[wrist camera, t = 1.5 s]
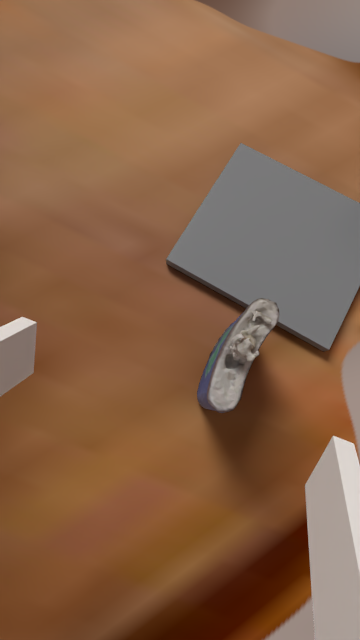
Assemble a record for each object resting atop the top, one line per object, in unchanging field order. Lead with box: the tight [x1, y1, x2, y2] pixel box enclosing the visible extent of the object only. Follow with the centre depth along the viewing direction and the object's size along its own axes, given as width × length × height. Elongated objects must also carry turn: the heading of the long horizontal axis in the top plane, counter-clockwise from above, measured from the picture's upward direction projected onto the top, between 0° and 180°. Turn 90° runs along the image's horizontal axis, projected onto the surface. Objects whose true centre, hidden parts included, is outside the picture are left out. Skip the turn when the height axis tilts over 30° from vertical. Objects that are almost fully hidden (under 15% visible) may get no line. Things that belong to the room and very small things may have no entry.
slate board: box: [166, 143, 360, 352], centre depth 35 cm, size 18×16×1 cm
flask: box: [197, 298, 279, 413], centre depth 27 cm, size 9×3×11 cm, turn 152°
